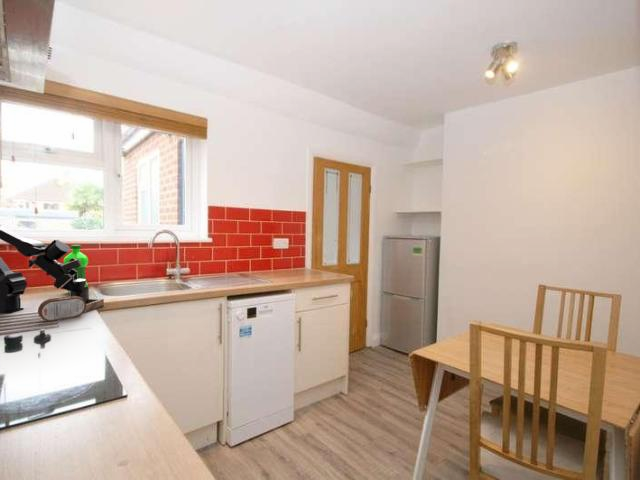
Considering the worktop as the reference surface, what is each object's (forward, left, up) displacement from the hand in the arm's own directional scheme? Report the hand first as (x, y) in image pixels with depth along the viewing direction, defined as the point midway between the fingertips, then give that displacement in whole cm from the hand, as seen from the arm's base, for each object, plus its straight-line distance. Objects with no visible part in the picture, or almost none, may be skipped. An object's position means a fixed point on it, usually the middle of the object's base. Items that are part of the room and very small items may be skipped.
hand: (83, 290), depth 145 cm
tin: (-15, -3, -8) cm, 17 cm away
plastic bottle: (+28, +26, -8) cm, 39 cm away
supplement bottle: (0, +2, -7) cm, 7 cm away
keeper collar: (-1, +1, -8) cm, 8 cm away
